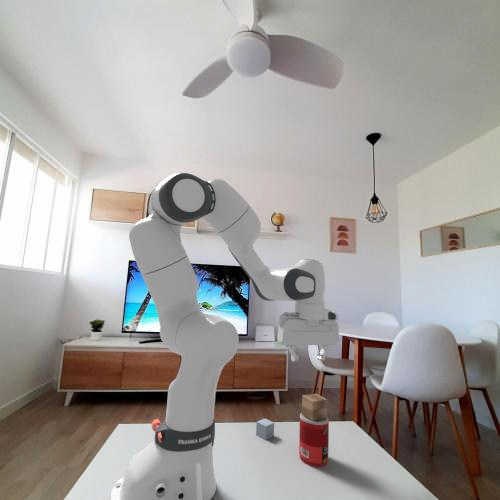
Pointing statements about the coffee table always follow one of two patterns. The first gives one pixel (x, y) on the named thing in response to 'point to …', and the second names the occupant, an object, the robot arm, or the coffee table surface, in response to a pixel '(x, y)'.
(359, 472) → the coffee table surface
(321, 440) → the canned food
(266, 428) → the slate block
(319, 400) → the tan cube
